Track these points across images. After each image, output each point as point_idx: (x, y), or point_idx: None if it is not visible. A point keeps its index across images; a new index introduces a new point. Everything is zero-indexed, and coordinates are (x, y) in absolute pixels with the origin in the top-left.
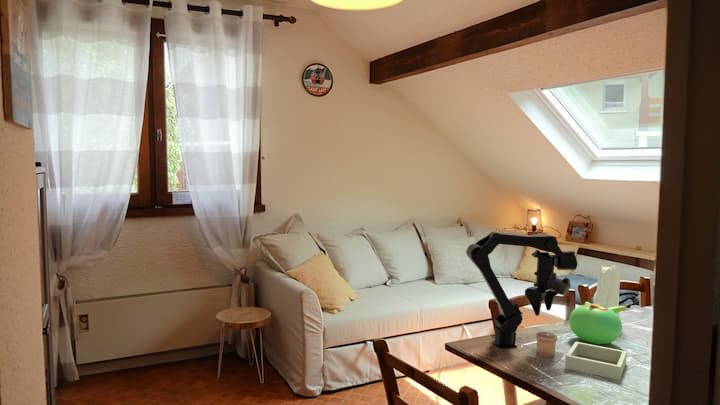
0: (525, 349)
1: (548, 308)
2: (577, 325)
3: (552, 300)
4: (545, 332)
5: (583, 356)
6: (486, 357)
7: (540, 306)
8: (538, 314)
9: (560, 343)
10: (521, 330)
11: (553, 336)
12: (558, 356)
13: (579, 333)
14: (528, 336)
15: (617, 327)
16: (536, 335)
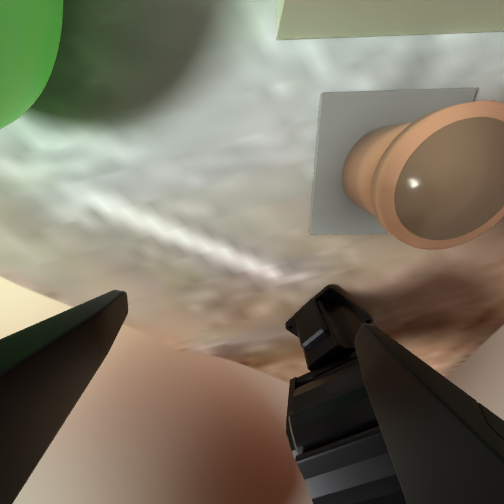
0: (331, 256)
1: (117, 311)
2: (13, 28)
3: (4, 366)
4: (408, 204)
5: None
6: (468, 329)
7: (465, 409)
8: (383, 332)
9: (162, 155)
10: (131, 319)
11: (486, 129)
12: (383, 106)
13: (57, 32)
14: (177, 285)
15: None
16: (463, 239)
